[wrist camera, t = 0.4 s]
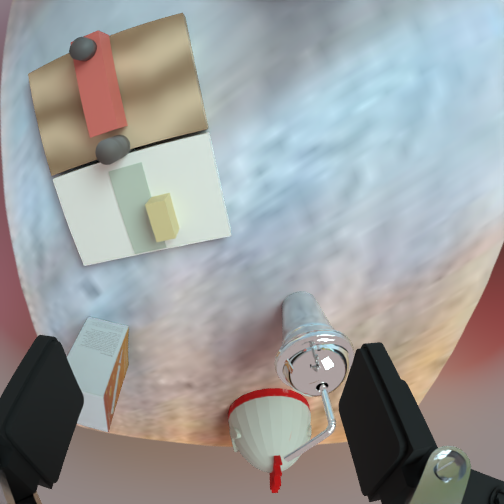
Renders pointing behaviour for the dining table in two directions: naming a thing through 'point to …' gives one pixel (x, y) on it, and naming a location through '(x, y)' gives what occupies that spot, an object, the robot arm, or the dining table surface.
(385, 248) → the dining table surface
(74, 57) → the swing bar
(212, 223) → the door
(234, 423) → the kitchen timer
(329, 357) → the cup with straw
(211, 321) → the dining table surface
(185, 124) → the tan wavy block
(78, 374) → the small box
